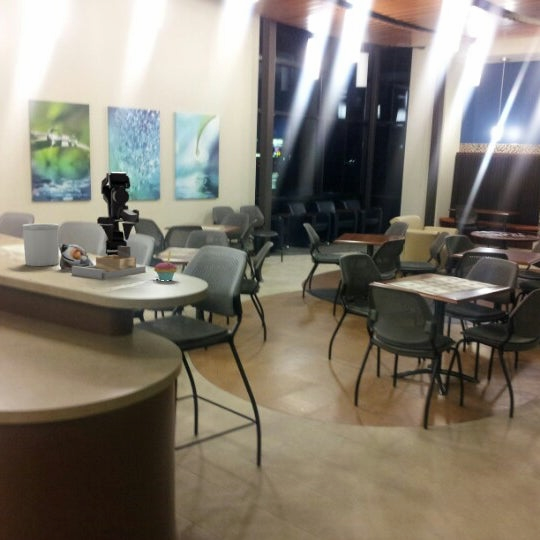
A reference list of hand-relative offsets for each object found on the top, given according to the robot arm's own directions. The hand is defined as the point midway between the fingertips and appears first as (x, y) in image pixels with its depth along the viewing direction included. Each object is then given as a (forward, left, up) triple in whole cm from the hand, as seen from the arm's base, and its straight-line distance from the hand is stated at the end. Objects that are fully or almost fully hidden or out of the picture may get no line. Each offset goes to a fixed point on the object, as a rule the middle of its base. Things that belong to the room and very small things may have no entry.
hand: (118, 240), depth 243 cm
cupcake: (+4, +28, -13) cm, 31 cm away
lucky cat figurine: (+8, -15, -13) cm, 22 cm away
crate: (+7, +5, -12) cm, 15 cm away
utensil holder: (+6, -40, -13) cm, 43 cm away
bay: (+10, +5, -13) cm, 17 cm away
